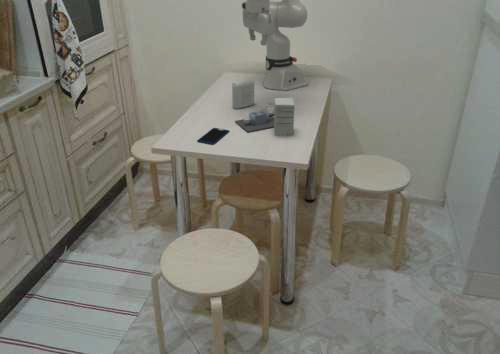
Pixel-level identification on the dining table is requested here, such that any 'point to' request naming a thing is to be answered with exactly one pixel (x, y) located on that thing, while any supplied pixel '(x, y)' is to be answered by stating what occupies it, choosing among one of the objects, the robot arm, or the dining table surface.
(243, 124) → the rubber mat
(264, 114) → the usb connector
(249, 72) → the dining table surface
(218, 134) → the cell phone
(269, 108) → the white connector
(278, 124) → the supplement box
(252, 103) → the photo printer
